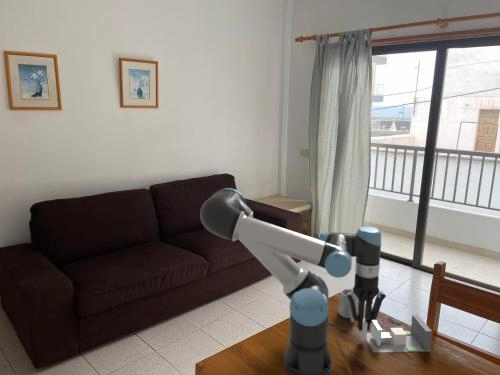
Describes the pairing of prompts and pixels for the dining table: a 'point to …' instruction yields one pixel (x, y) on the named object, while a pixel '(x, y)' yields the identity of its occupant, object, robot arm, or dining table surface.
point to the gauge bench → (407, 339)
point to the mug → (347, 305)
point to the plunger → (379, 334)
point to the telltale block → (398, 336)
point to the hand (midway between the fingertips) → (362, 337)
